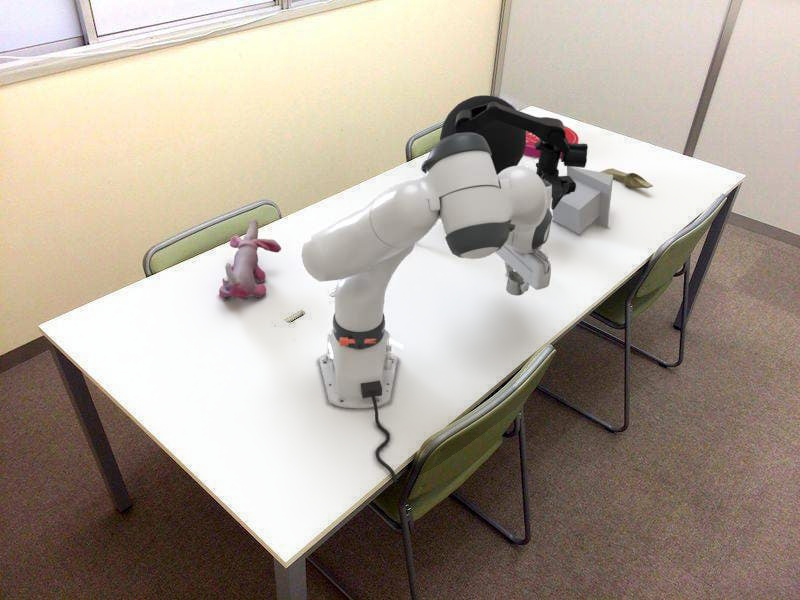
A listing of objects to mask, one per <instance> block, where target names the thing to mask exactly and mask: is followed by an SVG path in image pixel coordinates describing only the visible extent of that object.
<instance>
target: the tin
mask: <svg viewBox="0 0 800 600" xmlns="http://www.w3.org/2000/svg"><path fill="white" fill-rule="evenodd" d="M513 271H514V272H511V273H510V274H509V275H508V277H507V282H506V287H505V290H506V292H507V293H508V294H509V295H512V296H523V295H524V294H525V292H522V291H521V290H520V284H522V283H525V282H524V278H522V277H521V276H520V275H519V274H518V273H517V272H516V271H515V270H513Z"/></svg>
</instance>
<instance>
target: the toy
mask: <svg viewBox="0 0 800 600" xmlns="http://www.w3.org/2000/svg"><path fill="white" fill-rule="evenodd" d="M229 241H230V242H229V247H231V248H233V249H237V251H236V252H235V255H234V256H233V257H234V258H233V265H231V264H230V263H229V262H227V263H226V264H225V266H224V267H225V274H226V276H227V280H226V279H225V278H224V277H222V285H221V286H220V287H219V290H218V291H219V293H218V295H219V297H221V298H223V299H225V300H227V299H228V298H231V297H232V298H235V299H240V300H243V301H244V300H246V299H248V298H249V297H253V298H256V297H257V298H262V297H264V296H265V295H266V293H267V287H266V285H265V284H263V283H264V281H265V280H266V273H265V271H264V270H263V269H261V267H260V266H259V256H258V250H259V249H258V248H261V249H263V250H265V251H268V252H271V253H280V252H281V251H282V247H281V245H280V244H279V243H278V242H277V240H275V239H272V238H259V221H258V220H257V219H256V218H252V219H251V220H250V221H249V224H248V228H247V230H246V233H245V234H244V237H243V239H242V238H241V237H240V236H239V235H233V236H232V237H230V240H229ZM255 281H256V282H258V283H259V284H257V285H256V282H255Z"/></svg>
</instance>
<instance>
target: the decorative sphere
mask: <svg viewBox="0 0 800 600" xmlns="http://www.w3.org/2000/svg"><path fill="white" fill-rule="evenodd" d="M490 102H497V103H499V104H501V105H503V106H506V107H509V108H512V109H515V110H517V109H516V108H515V107H514V106H513V105H512V104H511V103H509V102H507V101H506V100H505V99H503V98H501V97H498V96H494V95H486V94H485V95H482V94H481V95H476V96H472V97H469V98H467V99H465V100H462V101H461V102H459V103H458V104H457V105H456V106H454V107H453V109H452V110H451V111H449V113H447V116H446V118H445V120H444V122H443V123H442V127H441V132H440V137H439V141H441V140H442V139H444V138H446V137H448V136H451V135H454V134H456V130H455V124H456V117H457V114H458V113H459V112H460V111H462V110H470V109H472V108H474V107H477V106H482V105H486V104H488V103H490ZM475 133H476V134H479V135H481V136H483V137H484V139H485V140H486V142H487V144H488V146H489V148H490V150H491V153H492V155H491V159H492V161H493V164H494V168H495V171H496V174H497V175H498V174H499V173H500V172H501V171H503V170H504V169H506V168H509V167H512V166H519V163H520V162H521V160H522V159H523V157H524V155H523V154H524V151H525V148H526V131H524V130H521V129H519V128H516V127H513V126H510V125H507V124H504V123H501V122H499V121H496V120H494V121H491V122H489V123H488V124H486V125H485V126H483V127H482V128H480V129H478V130H476V131H475Z"/></svg>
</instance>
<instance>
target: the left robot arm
mask: <svg viewBox="0 0 800 600" xmlns="http://www.w3.org/2000/svg"><path fill="white" fill-rule="evenodd" d="M491 155H492V153H491V150H490V148H489V146H488V144H487V142H486V140H485V139H484V137H483V136H481V135H479V134H476V133H471V132H465V133H457V134H454V135H451V136H448V137H446V138H444V139H442V140H441V141H440V140H439V141H438V142H437V143H436V144H435V146H434V147H433V148H432V149H431V151H429V154H428V157H427V159H426V160H424V161H422V164H421V168H420V170H421V172H422V173H424V176H423V177H422V178H419V179H413V180H407V181H404V182H403V181H402V182H401V183H398V184H395V185H394V186H392V187H389V188H388V189H386V190H385V191H384V192H382V193H381V194H380V195H378V196H377V197H376V198H375V199H373V200H372V201H371V202H370V203H369V204H368V205H366V206H365V207H363V208H362V209H360V210H358V211H356V212H354V213H352V214H350V215H348V216H346V217H344V218H343V219H340V220H339V221H337V222H335V223H333V224H332V225H330V226H328V227H327V228H324V229H323V230H321V231H318V232H317V233H315V234H312V235H310V236H309V237H307V238H306V239H305V241H304V243H303V245H302V250H301V260H302V265H303V267H304V268H305V271H306V272H307V273H308V275H310V276H311V277H312V278H313V279H314V280H316V281H318V282H320V283H321V282H323V283H324V282H333V281H338V282H337V285H336V287H335V290H334V313H333V317H332V329H331V330H330V331H329V332H328V333H327V334H326V335H327V339H326V340H327V345H326V346H327V350H326V351H327V353H325V354H323V355H321V356H320V357H319V366H320V370H321V374H322V378H323V382H324V387H325V390H326V391H325V392H326V394H327V400H328V402H329V404H332V405H334V406H337V407H340V408H345V409H371V408H373V410H374V422H375V424H376V427H377V428H378V429H379V430H380V431H381V432H383V433H384V434H385V436H386V437H385V440H384V441H383V442H382V443H381V444H380V445H379V446H378V447H376V450H375V459H376V461H377V462H378V463H379V464H380V465H381V466H383V467H384V468H385V469H386V470H387V471H388V472H389V473H390V475H391V478H392V480H393V483H398V478H397V475H396V472H395V471H394V469H393V468H392V467H391V466H390V464H388V463H386V461H384V460H383V459H382V458H381V455H380V451H382V449H383V448H384V447H386V445H388V443H389V442H390V439H391V434H390V432H389V431H388V430H387V429H386V428H384V427H383V425H382V424H381V423H380V419H379V408H378V407H381V406H383V405H387V404H388V403H389V402H390V401H391V396H392V391H393V386H394V382H395V381H394V380H395V376H396V370H397V364H398V357H397V356H396V355H395V354H393V353H391V352H392V345H394V346H396V347H399V348H400V349H403V347H404V345H403V344H401V343H399V342H397V341H396V340H393V339H392V338H391V334H390V332H389V331H387V330H386V318H385V313H384V307H385V297H386V292H387V288H388V286H389V283H390V282H391V279H392V278H393V276H394V274H395V272H396V270H397V269H398V267H399V266H400V265H401V263H402V262H403V261H404V260H405V259H406V258H407V257H408V256H409V255H410V254H411V253H412V252H413V251H414V248H415V244H416V243H418V242H419V241H421V240H422V239H423V238H424V237H425V236H426V235H427V234H428V233H430V231H431V230H432V229H433V228H434V226H435V225H436V224H437V222H438V221H439V220H441V223H442V226H443V227H442V228H443V230H444V233H445V235H446V236H445V237H444V238H445V241H446V244H447V246H448V248H449V251H450V252H451V254H452V255H454V256H456V257H458V258H460V259H462V258H463V259H467V260H480V259H484V258H487V257H489V256H491V255H493V254H494V253H495V254H497V256H499V258H501V260H502V261H504V267H505V276H506V278H508V275H509V274H510V273H511V272H514V271H516V272H517V273H518V274H519V275H520V276H521V277H522V278H524V282H525V283H522V284H520V290H521V291H522V292H524V293H527V292H528V291H529V289H530V286H531V287H532V288H533V289H534V290H536V291H539V290H543V289H545V288H548V287H549V286H550V281H551V275H552V274H551V273H552V264H551V261H550V260H549V257H548V255H546V254H545V253H544V252H543V251H542V248H543V245H545V244H546V242H547V241H548V238H549V236H550V230H551V224H552V221H553V213H552V212H551V205H552V198H551V197H552V185H551V183H549V182H548V181H546V180H544V179H541V178H540V177H539V176H538V174H536V172H535V171H534V170H533V169H532V168H530V167H527V166H523V165H517V166H512V167H509V168H506V169H504V170H503V171H501V172H500V173H499V174H498V175H497V174H496V171H495V168H494V164H493V161H492V159H491ZM390 344H392V345H390Z"/></svg>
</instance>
